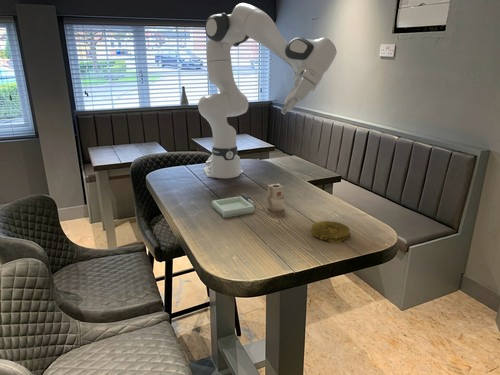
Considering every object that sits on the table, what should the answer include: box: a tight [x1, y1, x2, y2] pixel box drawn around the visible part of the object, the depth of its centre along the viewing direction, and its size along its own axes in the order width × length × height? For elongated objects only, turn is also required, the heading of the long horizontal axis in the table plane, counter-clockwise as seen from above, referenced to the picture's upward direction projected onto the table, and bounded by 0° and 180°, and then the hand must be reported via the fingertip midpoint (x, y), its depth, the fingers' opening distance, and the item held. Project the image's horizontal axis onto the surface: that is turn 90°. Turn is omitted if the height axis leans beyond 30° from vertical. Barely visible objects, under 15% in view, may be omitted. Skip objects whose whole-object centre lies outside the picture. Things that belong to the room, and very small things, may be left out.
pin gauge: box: [240, 192, 257, 207], centre depth 149 cm, size 11×2×2 cm, turn 26°
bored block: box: [267, 183, 285, 212], centre depth 141 cm, size 5×4×9 cm
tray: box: [211, 195, 255, 219], centre depth 141 cm, size 12×12×2 cm
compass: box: [311, 220, 351, 243], centre depth 121 cm, size 12×12×2 cm
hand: (285, 112), depth 138 cm, fingers open, 8 cm apart
